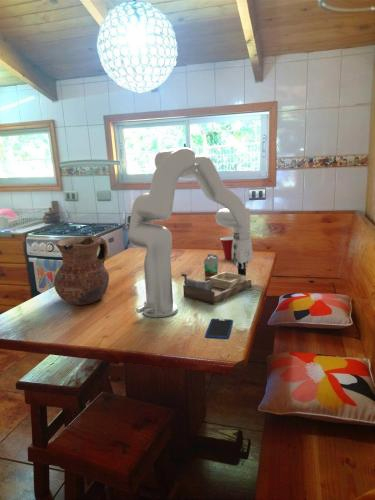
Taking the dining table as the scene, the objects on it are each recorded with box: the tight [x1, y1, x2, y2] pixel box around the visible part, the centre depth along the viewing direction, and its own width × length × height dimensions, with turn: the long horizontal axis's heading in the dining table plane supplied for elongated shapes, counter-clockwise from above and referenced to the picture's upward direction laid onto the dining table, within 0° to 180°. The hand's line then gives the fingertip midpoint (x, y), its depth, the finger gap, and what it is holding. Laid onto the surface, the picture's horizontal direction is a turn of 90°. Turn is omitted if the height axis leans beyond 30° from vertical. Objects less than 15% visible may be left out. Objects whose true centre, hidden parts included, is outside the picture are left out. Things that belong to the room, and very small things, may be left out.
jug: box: [53, 235, 110, 306], centre depth 144 cm, size 22×21×25 cm
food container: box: [203, 253, 220, 281], centre depth 168 cm, size 12×6×10 cm, turn 168°
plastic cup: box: [219, 236, 233, 260], centre depth 203 cm, size 11×11×12 cm
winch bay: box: [181, 273, 252, 306], centre depth 147 cm, size 27×16×10 cm, turn 137°
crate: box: [209, 271, 247, 289], centre depth 152 cm, size 11×11×4 cm
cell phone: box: [204, 318, 234, 340], centre depth 114 cm, size 7×14×1 cm, turn 167°
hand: (241, 276), depth 160 cm, fingers closed
